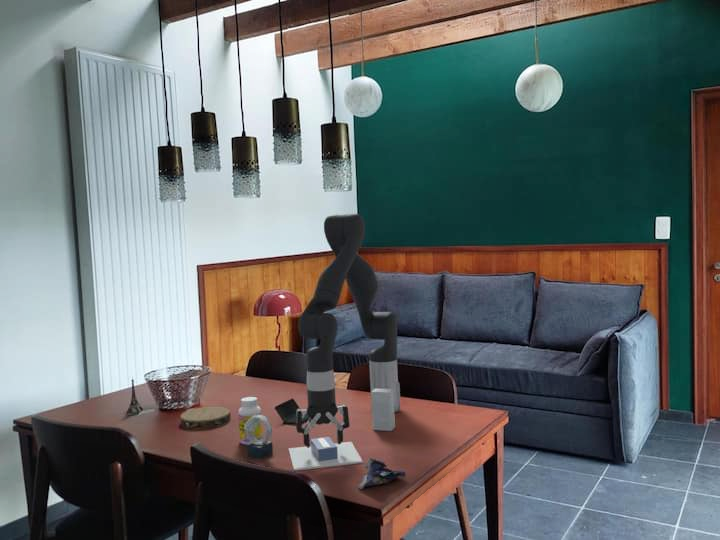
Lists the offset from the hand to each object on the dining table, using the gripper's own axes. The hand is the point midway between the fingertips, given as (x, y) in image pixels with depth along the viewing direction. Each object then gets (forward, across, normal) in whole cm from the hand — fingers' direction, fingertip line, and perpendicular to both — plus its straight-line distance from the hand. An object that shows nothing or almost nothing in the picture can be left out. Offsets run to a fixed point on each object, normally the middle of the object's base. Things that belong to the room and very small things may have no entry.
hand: (323, 445), depth 174 cm
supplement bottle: (+3, -19, +19) cm, 27 cm away
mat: (+3, 0, 0) cm, 3 cm away
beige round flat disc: (+4, -33, +45) cm, 56 cm away
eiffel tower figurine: (+4, -58, +64) cm, 87 cm away
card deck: (+3, 0, 0) cm, 3 cm away
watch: (+3, -17, +7) cm, 19 cm away
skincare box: (+3, +21, +18) cm, 28 cm away
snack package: (+4, +10, -21) cm, 24 cm away
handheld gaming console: (+4, -4, +37) cm, 37 cm away
